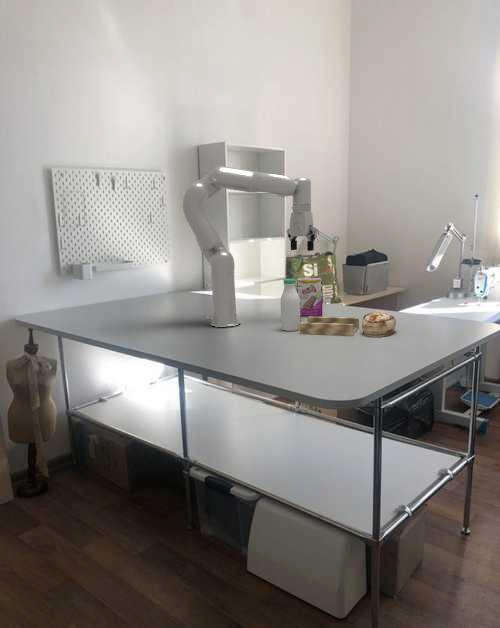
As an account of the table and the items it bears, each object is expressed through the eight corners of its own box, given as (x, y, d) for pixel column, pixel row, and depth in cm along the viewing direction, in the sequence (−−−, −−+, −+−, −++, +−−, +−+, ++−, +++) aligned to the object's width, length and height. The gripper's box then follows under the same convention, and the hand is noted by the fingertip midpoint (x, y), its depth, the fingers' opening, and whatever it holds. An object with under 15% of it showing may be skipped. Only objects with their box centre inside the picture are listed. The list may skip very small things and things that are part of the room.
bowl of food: (390, 327, 207) (390, 307, 205) (403, 336, 192) (403, 314, 190) (356, 329, 206) (356, 309, 205) (365, 338, 191) (365, 316, 190)
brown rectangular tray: (299, 333, 203) (299, 323, 202) (309, 326, 216) (309, 316, 215) (352, 335, 196) (352, 325, 195) (359, 327, 209) (359, 317, 208)
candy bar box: (297, 317, 236) (296, 280, 233) (297, 314, 241) (296, 278, 238) (322, 316, 235) (322, 279, 232) (322, 314, 240) (321, 277, 237)
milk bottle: (299, 331, 207) (298, 280, 203) (279, 331, 208) (278, 280, 205) (301, 327, 214) (300, 277, 211) (282, 327, 216) (281, 278, 212)
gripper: (280, 209, 227) (281, 250, 230) (310, 208, 214) (310, 251, 217) (293, 209, 231) (293, 249, 234) (323, 208, 218) (323, 250, 221)
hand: (302, 250), depth 226 cm, fingers open, 9 cm apart
